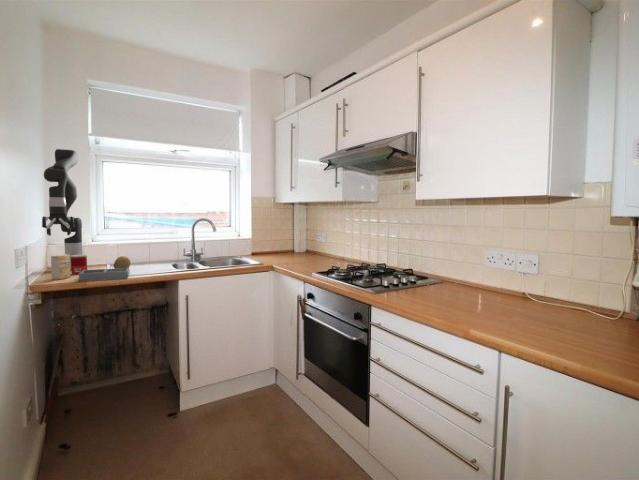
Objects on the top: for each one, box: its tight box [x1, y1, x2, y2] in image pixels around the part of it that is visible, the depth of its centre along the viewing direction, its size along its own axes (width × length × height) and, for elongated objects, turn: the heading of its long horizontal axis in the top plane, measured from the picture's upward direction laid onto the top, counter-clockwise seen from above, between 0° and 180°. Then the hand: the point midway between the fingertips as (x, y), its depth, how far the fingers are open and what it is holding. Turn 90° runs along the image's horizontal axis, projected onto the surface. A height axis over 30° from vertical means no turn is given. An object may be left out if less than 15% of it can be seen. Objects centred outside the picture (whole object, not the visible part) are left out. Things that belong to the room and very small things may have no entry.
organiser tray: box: [78, 267, 130, 282], centre depth 199 cm, size 13×23×4 cm, turn 115°
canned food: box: [70, 254, 88, 276], centre depth 212 cm, size 8×8×11 cm
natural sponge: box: [113, 256, 131, 269], centre depth 217 cm, size 9×9×10 cm
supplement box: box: [50, 254, 71, 281], centre depth 195 cm, size 8×5×13 cm, turn 179°
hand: (59, 235), depth 194 cm, fingers open, 8 cm apart
